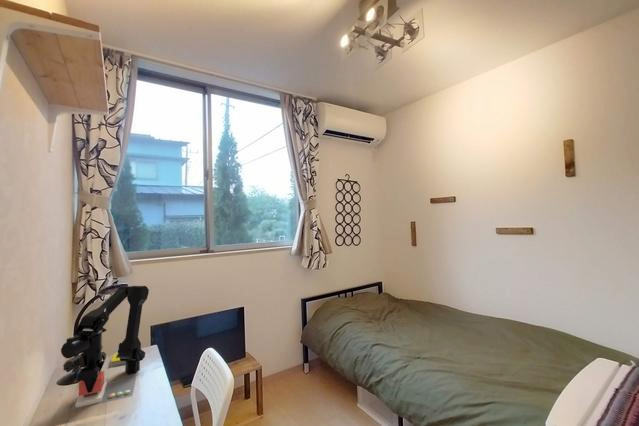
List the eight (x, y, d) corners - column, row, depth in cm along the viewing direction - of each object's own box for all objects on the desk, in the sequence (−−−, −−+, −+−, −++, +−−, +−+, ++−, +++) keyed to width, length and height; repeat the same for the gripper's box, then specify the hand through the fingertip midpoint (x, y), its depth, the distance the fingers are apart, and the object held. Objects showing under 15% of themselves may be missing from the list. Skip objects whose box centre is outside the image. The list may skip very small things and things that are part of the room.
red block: (83, 387, 117) (83, 374, 117) (104, 382, 120) (104, 370, 120) (78, 396, 111) (78, 382, 111) (100, 391, 114) (101, 378, 114)
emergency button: (135, 346, 158) (132, 357, 145) (135, 354, 158) (132, 366, 144) (114, 349, 154) (109, 361, 140) (114, 358, 154) (109, 370, 140)
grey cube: (86, 392, 116) (86, 382, 116) (98, 389, 118) (99, 380, 118) (83, 397, 112) (84, 387, 112) (96, 394, 114) (97, 384, 114)
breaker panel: (82, 390, 122) (82, 383, 123) (136, 379, 131) (136, 372, 131) (70, 413, 107) (70, 405, 107) (132, 398, 116) (132, 391, 116)
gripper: (73, 342, 120) (72, 381, 120) (58, 361, 104) (57, 406, 103) (106, 337, 126) (105, 375, 125) (97, 354, 109) (96, 397, 108)
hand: (91, 387), depth 115 cm, fingers closed on red block, 7 cm apart
